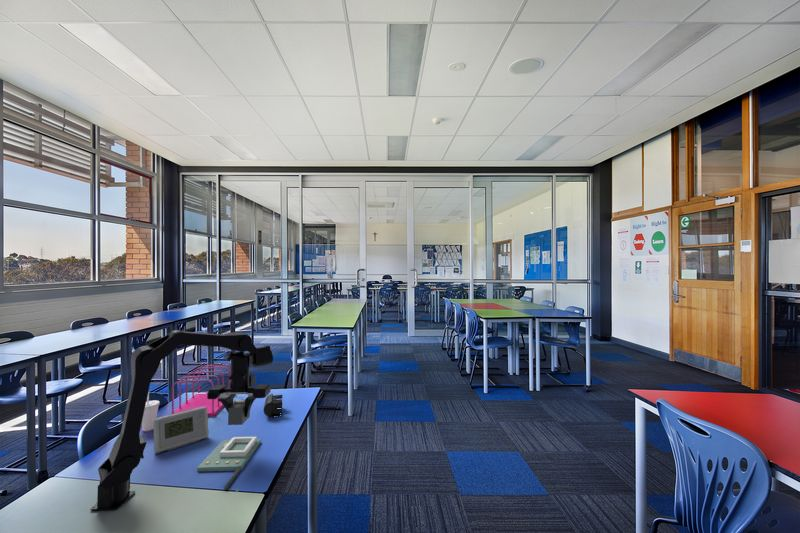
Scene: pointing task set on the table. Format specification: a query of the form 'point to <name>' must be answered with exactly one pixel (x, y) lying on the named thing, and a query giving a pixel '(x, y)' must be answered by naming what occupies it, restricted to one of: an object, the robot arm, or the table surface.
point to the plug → (237, 413)
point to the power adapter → (273, 405)
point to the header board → (230, 454)
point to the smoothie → (149, 414)
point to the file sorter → (200, 399)
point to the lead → (232, 478)
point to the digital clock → (180, 429)
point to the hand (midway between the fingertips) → (239, 416)
